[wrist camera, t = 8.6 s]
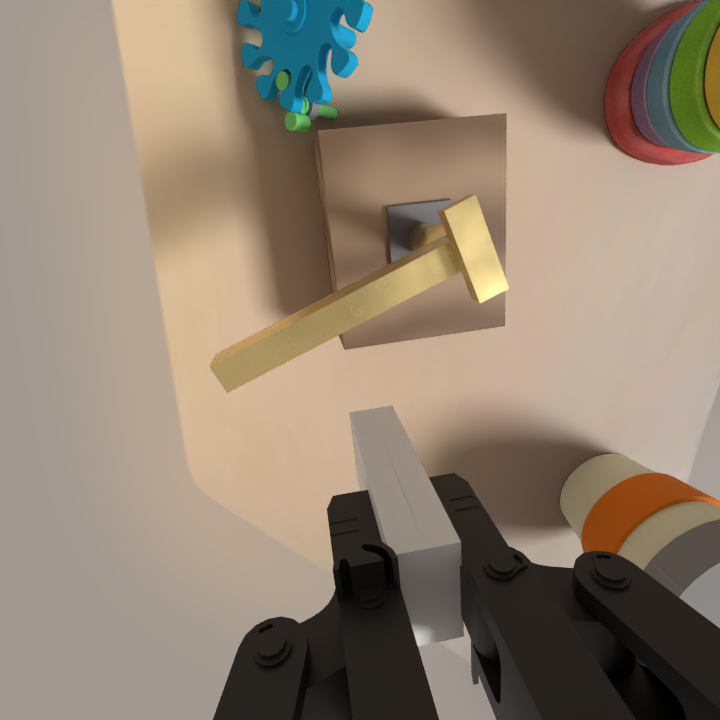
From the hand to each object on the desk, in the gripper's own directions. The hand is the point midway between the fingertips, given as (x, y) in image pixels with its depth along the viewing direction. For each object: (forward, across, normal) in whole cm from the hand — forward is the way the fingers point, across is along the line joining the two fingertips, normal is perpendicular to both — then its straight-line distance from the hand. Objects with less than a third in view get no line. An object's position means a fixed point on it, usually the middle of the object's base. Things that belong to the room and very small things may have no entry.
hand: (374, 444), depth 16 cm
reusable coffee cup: (+22, +26, -23) cm, 41 cm away
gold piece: (+16, 0, +3) cm, 16 cm away
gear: (+22, 0, +18) cm, 28 cm away
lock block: (+22, +7, +5) cm, 23 cm away
